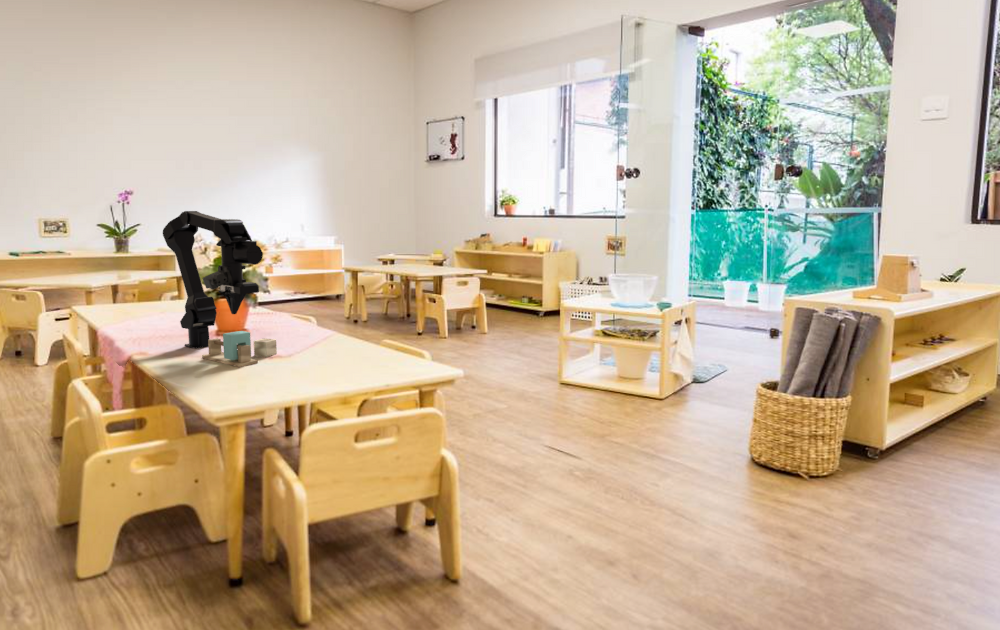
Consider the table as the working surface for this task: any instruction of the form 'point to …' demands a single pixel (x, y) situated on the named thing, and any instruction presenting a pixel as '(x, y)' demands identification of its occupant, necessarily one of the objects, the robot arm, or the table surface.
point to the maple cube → (265, 347)
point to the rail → (218, 356)
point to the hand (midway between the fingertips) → (234, 314)
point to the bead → (235, 343)
